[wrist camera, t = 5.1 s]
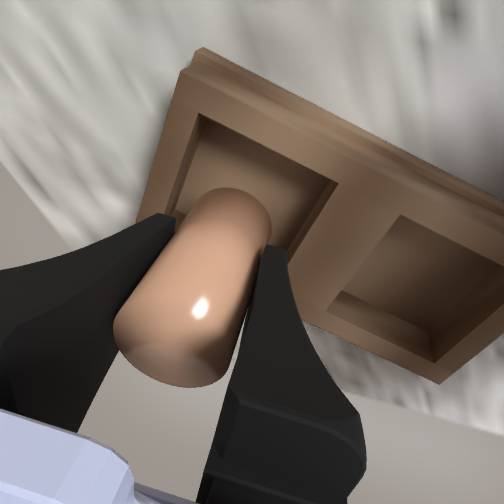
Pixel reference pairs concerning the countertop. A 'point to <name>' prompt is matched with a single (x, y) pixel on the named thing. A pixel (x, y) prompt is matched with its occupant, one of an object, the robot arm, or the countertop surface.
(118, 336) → the clay rod
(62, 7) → the countertop surface
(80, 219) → the countertop surface
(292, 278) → the rack
